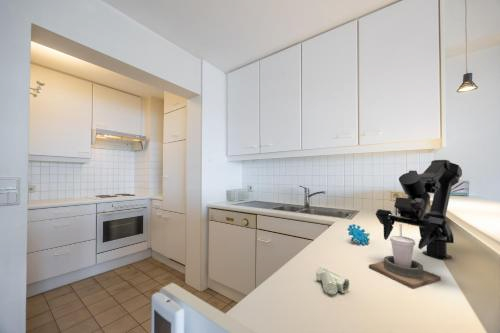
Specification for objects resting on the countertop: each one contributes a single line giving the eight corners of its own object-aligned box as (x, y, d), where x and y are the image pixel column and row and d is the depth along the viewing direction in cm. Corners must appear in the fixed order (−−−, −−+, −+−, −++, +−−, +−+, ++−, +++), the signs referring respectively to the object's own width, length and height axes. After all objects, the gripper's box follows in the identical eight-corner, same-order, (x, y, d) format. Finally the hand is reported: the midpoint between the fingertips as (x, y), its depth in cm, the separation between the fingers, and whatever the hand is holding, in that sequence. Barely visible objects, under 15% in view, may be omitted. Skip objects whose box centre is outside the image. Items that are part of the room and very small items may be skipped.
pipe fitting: (334, 301, 50) (349, 291, 54) (333, 286, 50) (349, 276, 54) (308, 286, 57) (323, 277, 60) (307, 272, 56) (323, 264, 60)
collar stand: (395, 262, 72) (395, 251, 72) (440, 280, 60) (440, 268, 60) (368, 267, 67) (368, 256, 67) (412, 288, 55) (412, 275, 55)
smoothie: (404, 265, 67) (404, 222, 67) (421, 275, 61) (420, 227, 61) (385, 265, 67) (385, 222, 67) (400, 275, 60) (399, 227, 61)
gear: (355, 242, 87) (345, 222, 94) (347, 249, 90) (338, 228, 98) (376, 244, 89) (365, 224, 96) (368, 251, 93) (358, 231, 100)
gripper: (378, 186, 75) (360, 220, 68) (446, 191, 59) (432, 235, 53) (388, 206, 78) (373, 240, 72) (456, 216, 63) (443, 260, 56)
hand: (401, 243), depth 63 cm, fingers open, 9 cm apart
